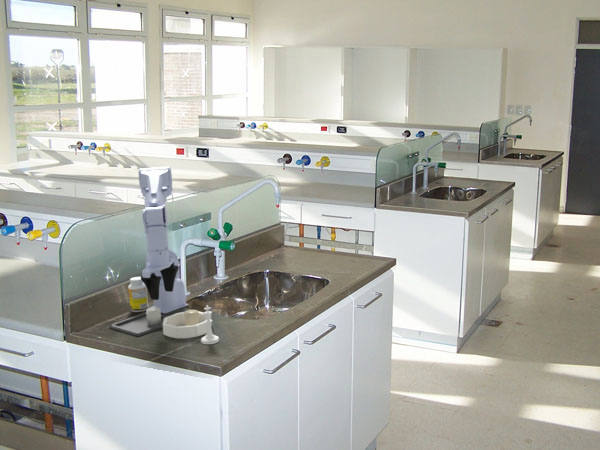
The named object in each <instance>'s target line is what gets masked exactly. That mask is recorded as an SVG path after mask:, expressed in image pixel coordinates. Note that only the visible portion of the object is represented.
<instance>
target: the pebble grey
mask: <svg viewBox="0 0 600 450" xmlns="http://www.w3.org/2000/svg"><path fill="white" fill-rule="evenodd" d="M151 307H152V308H151ZM151 307H149V308H148V309H146V310H145V311H146V314H147V324H148V326H150V327H154V326H157V325H159V324H162V321H161V315H162V314H161V311H160V308H159V307H153V306H151Z"/></svg>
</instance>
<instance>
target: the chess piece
mask: <svg viewBox="0 0 600 450" xmlns="http://www.w3.org/2000/svg"><path fill="white" fill-rule="evenodd" d="M205 306H206V307H204V310H205V311H204V312H203V313H204V315H205V317H206V320H205V323H207V333H206V334H204V335H205V336H203V337H201V339H200V343H201V344H202V345H213V344H217V343H219V342H220V337H219V336H217V335H215V334H213V329H212V322H213V319H212V311H210V310H212V307H210V306H209V305H208V304H207V305H205ZM210 318H211V319H210Z"/></svg>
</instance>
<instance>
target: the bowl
mask: <svg viewBox="0 0 600 450" xmlns="http://www.w3.org/2000/svg"><path fill="white" fill-rule="evenodd" d="M184 312H185V311H181V312H177V313H176V312H175V313H174V314H171V315H168V316H167V317H166V318H164V321H163V327H162V331H163V335H164V336H166V337H168V338H173V339H192V338H197V337H200V336H203V335H206V333H207V323H205V320H206V317H205V315H204V312H202V311H199V310H198V314H199V324H196V325H191V326H185V319H184ZM210 319H211V320H212V317H211V318H210Z"/></svg>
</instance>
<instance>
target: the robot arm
mask: <svg viewBox="0 0 600 450" xmlns="http://www.w3.org/2000/svg"><path fill="white" fill-rule="evenodd" d="M172 177H173V175H172V168H171V167H170V166H169V165H168V166H158V167H146V168H144V167H143V168H142V167H140V168H139V169H138V183H139V188H140V192H141V194H142V197H144V209H142V212H141V214H142V224H143V229H144V234H145V236H146V237H145V238H146V246H147V247H146V248H147V255H146V258H145V268H144V269H143V270H142V272H141V275H140V277H141V280H142V281H143V282H144V284H145V285H146V287H147V293H148V294H149V297H150V299H151V300H153V305H152V306H151V307H150V308H152V307H159V308H160V311H161V313H162V314H167V313H171V312H173V311H176V310H179V309H181V308H182V309H183V308H184V307H186V306H188V303H187V301H186V300H187V299H186V291H185V289H186V287H185V284H184V281H183V280H182V278H180V263H179V257H178V255H177V252H175V251H173V250H172V249H171V248H169V241H168V227H167V226H168V211H167V208H166V203H167V198H168V197H170V196H171V195H172V194H173V179H172Z"/></svg>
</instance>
